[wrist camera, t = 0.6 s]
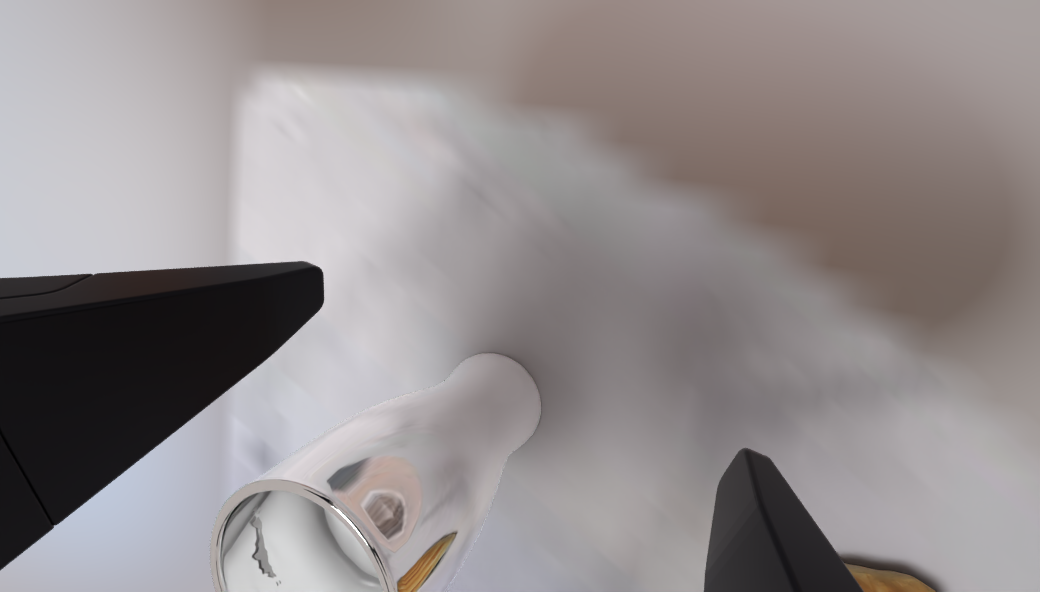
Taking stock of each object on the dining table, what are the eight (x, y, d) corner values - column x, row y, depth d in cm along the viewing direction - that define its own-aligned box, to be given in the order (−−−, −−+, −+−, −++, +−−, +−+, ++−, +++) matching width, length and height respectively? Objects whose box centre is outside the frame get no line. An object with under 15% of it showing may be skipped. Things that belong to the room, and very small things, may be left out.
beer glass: (558, 360, 24) (419, 525, 10) (539, 470, 26) (391, 754, 11) (449, 333, 26) (205, 441, 12) (436, 437, 28) (200, 645, 13)
